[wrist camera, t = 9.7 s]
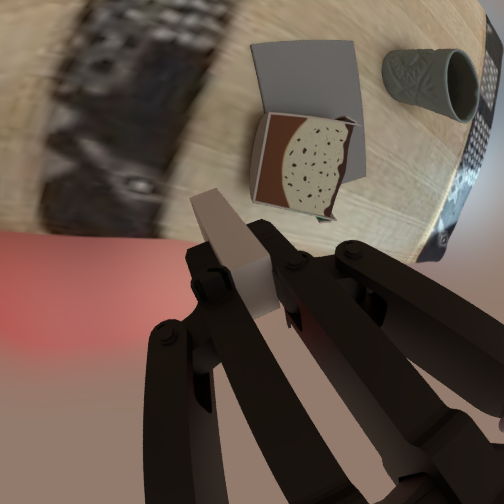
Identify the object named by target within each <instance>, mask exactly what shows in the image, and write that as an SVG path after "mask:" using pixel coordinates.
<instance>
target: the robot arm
mask: <svg viewBox="0 0 504 504" xmlns="http://www.w3.org/2000/svg"><path fill="white" fill-rule="evenodd" d="M189 199H190V202H191V204H192V207H193V210H194V213H195V216H196V218H197V221H198V224H199V227H200V229H201V232H202V235H203V238H204V240H205V242H204V243H202V244H199V245H197V246H195V247H192V248H190V249H187V253H186V256H185V259H186V262H187V265H188V268H189V271H190V274H191V277H192V280H191V288H192V291H193V293H194V295H195V297H196V298H197V301H198V304H197V306H196V308H195V310H194V311H193V312H192V313H191V314H190V315H189V316H188V317H187V318H185V319H184V320H183V321H179V320H176V319H168V320H165V321H163V322H161V323H160V324H158V325H157V326H155V328H154V329H153V330H152V332H151V334H150V337H149V342H148V352H147V363H146V364H147V365H146V377H145V391H144V392H145V393H144V414H143V472H144V491H145V504H229V502H228V495H227V489H226V482H225V476H224V469H223V461H222V453H221V445H220V437H219V428H218V419H217V411H216V399H215V390H214V389H215V388H214V377H213V368H214V367H215V366H217V365H218V364H219V363H222V365H223V367H224V370H225V372H226V375H227V377H228V379H229V382H230V384H231V387H232V389H233V391H234V393H235V396H236V398H237V400H238V403H239V405H240V407H241V409H242V412H243V414H244V416H245V418H246V420H247V423H248V425H249V427H250V429H251V431H252V433H253V435H254V437H255V440H256V442H257V444H258V446H259V448H260V450H261V451H262V454H263V456H264V458H265V460H266V462H267V464H268V466H269V468H270V470H271V471H272V473H273V475H274V477H275V479H276V481H277V483H278V485H279V486H280V488H281V490H282V492H283V494H284V496H285V497H286V499H287V501H288V503H289V504H369V503H368V502H367V501H366V499H365V498H364V496H363V495H362V494H361V493H360V491H359V490H358V489H357V488H356V487H355V486H354V485H353V484H352V483H351V482H350V480H349V479H348V477H347V476H346V474H345V473H344V471H343V470H342V468H341V467H340V465H339V464H338V462H337V460H336V459H335V457H334V456H333V454H332V453H331V451H330V449H329V448H328V446H327V445H326V443H325V442H324V440H323V438H322V437H321V435H320V433H319V432H318V430H317V428H316V427H315V425H314V424H313V422H312V420H311V419H310V417H309V415H308V414H307V412H306V410H305V409H304V407H303V405H302V404H301V402H300V400H299V399H298V397H297V395H296V394H295V392H294V390H293V388H292V387H291V385H290V383H289V382H288V380H287V378H286V377H285V375H284V373H283V371H282V370H281V368H280V366H279V364H278V363H277V361H276V359H275V358H274V356H273V354H272V352H271V350H270V349H269V347H268V345H267V343H266V341H265V340H264V338H263V336H262V334H261V333H260V331H259V329H258V327H257V325H256V324H255V322H254V319H256V318H259V317H261V316H263V315H265V314H267V313H269V312H272V311H274V310H276V309H278V308H280V303H279V300H280V302H281V303H282V305H283V306H284V309H285V315H286V321H287V325H288V328H291V324H292V326H293V327H294V329H295V330H296V332H297V333H298V335H299V336H300V338H301V339H302V341H303V342H304V344H305V345H306V347H307V348H308V349H309V351H310V353H311V354H312V356H313V357H314V359H315V360H316V362H317V363H318V365H319V366H320V368H321V369H322V371H323V372H324V373H325V375H326V376H327V378H328V379H329V381H330V382H331V384H332V385H333V387H334V388H335V390H336V391H337V393H338V394H339V396H340V397H341V398H342V400H343V401H344V403H345V404H346V406H347V407H348V409H349V410H350V412H351V413H352V415H353V416H354V418H355V419H356V421H357V422H358V424H359V425H360V427H361V428H362V429H363V431H364V432H365V434H366V435H367V437H368V438H369V440H370V441H371V443H372V444H373V445H374V447H375V448H376V450H377V451H378V453H379V454H380V456H381V458H382V462H383V466H384V468H385V470H386V471H387V473H388V475H389V476H390V477H391V479H392V480H393V482H394V483H395V485H396V487H395V488H394V489H393V490H392V491H391V492H390V493H389V494H388V495H387V496H386V497H385V498H384V499H383V500H381V501H379V502H377V503H374V504H504V444H498V443H497V444H496V443H490V442H489V441H488V439H487V438H486V437H485V435H484V434H483V433H482V431H481V430H480V429H479V427H478V426H477V425H476V423H475V422H474V421H473V419H472V418H471V417H470V416H469V415H468V414H467V413H465V412H463V411H461V410H458V409H451V408H449V407H447V406H446V405H445V404H444V403H443V401H442V400H441V399H440V398H439V397H438V395H437V394H436V393H435V392H434V391H433V389H432V388H431V387H430V386H429V384H428V383H427V382H426V381H425V380H424V378H423V377H422V376H421V375H420V374H419V372H418V371H417V370H416V369H415V368H414V367H413V365H412V364H411V363H410V362H409V361H408V360H407V358H408V359H409V360H410V361H412V362H413V363H415V364H416V365H417V366H419V367H420V368H422V369H423V370H425V371H426V372H427V373H428V374H430V375H431V376H433V377H434V378H436V379H437V380H438V381H440V382H441V383H442V384H444V385H445V386H447V387H448V388H449V389H451V390H452V391H454V392H455V393H456V394H458V395H459V396H460V397H462V398H463V399H464V400H466V401H467V402H469V403H470V404H472V405H473V406H474V407H476V408H477V409H479V410H480V411H482V412H484V413H486V414H489V415H491V416H494V417H498V418H501V419H500V421H499V429H500V431H501V432H504V325H503V324H502V323H500V322H499V321H497V320H496V319H494V318H493V317H491V316H490V315H488V314H487V313H485V312H484V311H482V310H481V309H479V308H478V307H476V306H474V305H473V304H471V303H470V302H468V301H466V300H465V299H463V298H462V297H460V296H458V295H457V294H455V293H453V292H452V291H450V290H448V289H447V288H445V287H443V286H442V285H440V284H438V283H437V282H435V281H433V280H431V279H430V278H428V277H426V276H425V275H423V274H421V273H419V272H417V271H415V270H414V269H412V268H410V267H408V266H407V265H405V264H403V263H401V262H400V261H398V260H396V259H394V258H392V257H390V256H388V255H387V254H385V253H383V252H381V251H379V250H377V249H375V248H373V247H371V246H370V245H368V244H366V243H364V242H361V241H358V240H348V241H344V242H342V243H340V244H339V245H338V246H337V247H336V250H335V254H334V255H328V256H323V257H313V256H312V255H310V254H309V253H307V252H304V251H297V249H296V248H295V247H294V246H293V245H292V244H291V243H290V242H289V241H288V240H287V239H286V238H285V237H284V236H283V235H282V234H281V233H280V232H279V231H278V230H277V229H276V228H275V227H274V225H273V224H272V223H271V222H268V221H266V220H263V219H260V220H257V221H254V222H252V223H249V224H247V225H246V224H245V223H244V222H243V220H242V219H241V218H240V217H239V216H238V214H237V213H236V212H235V211H234V209H233V208H232V207H231V206H230V204H229V203H228V202H227V201H226V199H225V198H224V197H223V196H222V194H221V193H220V192H219V191H218V189H217V188H214V189H212V190H209V191H206V192H204V193H201V194H199V195H196V196H193V197H191V198H189Z"/></svg>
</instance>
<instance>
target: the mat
mask: <svg viewBox="0 0 504 504" xmlns="http://www.w3.org/2000/svg"><path fill="white" fill-rule="evenodd" d="M250 47H251V51H252V56H253V60H254V65H255V69H256V74H257V78H258V83H259V87H260V92H261V97H262V102H263V107H264V112H265V113H266V112H277V113H287V114H297V115H305V116H313V117H320V118H326V119H333V120H334V119H336V118H337V117H340V116H348V117H350V118H351V119H353V120H355V121H357V124H359V125H361V126H355V127H353V132H352V135H351V139H350V143H349V148H348V156H347V165H346V172H345V175H344V178H343V181H342V183H341V184H343V183H346V182H350V181H353V180H356V179H359V178H362V177H366V153H365V134H364V120H363V108H362V98H361V90H360V82H359V74H358V67H357V61H356V55H355V49H354V43H353V41H342V40H299V41H281V42H270V43H260V44H252V45H250Z"/></svg>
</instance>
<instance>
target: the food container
mask: <svg viewBox="0 0 504 504" xmlns="http://www.w3.org/2000/svg"><path fill="white" fill-rule="evenodd" d="M355 126H361V125H359V124H357V121H355V120H353V119H351V118H350V117H348V116H340V117H337V118H336V119H334V120H333V119H326V118H320V117H313V116H305V115H297V114H287V113H277V112H266V113H265V114H264V116H263V117H262V119H261V121H260V123H259V126H258V129H257V132H256V136H255V140H254V144H253V150H252V156H251V165H250V194H251V199H252V202H253V203H257V204H262V205H267V206H271V207H276V208H281V209H285V210H290V211H294V212H299V213H303V214H307V215H312V216H316V218H317V220H318V221H319V223H328V222H331V221H337V220H336V219H335V217H334V216H333V214H332V208H333V205H334V202H335V198H336V195H337V193H338V190H339V187H340V185H341V183H342V181H343V178H344V175H345V172H346V165H347V156H348V148H349V143H350V139H351V135H352V132H353V127H355Z"/></svg>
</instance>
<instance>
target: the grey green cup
mask: <svg viewBox="0 0 504 504" xmlns="http://www.w3.org/2000/svg"><path fill="white" fill-rule="evenodd" d="M382 77H383V82H384V85H385V87H386V89H387V91H388V92H389V94H390V95H391V96H392V97H393V98H394V99H396V100H398V101H400V102H404V103H407V104H410V105H417V106H420V107H423V108H425V109H428V110H431V111H434V112H435V113H439V114H442V115H444V116H447V117H449V118H451V119H453V120H456V121H458V122H460V123H464V124H466V123H469V122H470V121H471V120H472V119H473V118H474V116H475V114H476V111H477V108H478V103H479V81H478V76H477V72H476V69H475V67H474V65H473V63H472V61H471V59H470V58H469V56H468V55H467V54H466V53H465V52H464V51H462V50H460V49H437V50H435V51H434V50H433V49H417V50H414V49H413V50H396V51H392V52H390V53H389V54H388V55H387V56H386V57H385V59H384V61H383V65H382Z"/></svg>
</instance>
